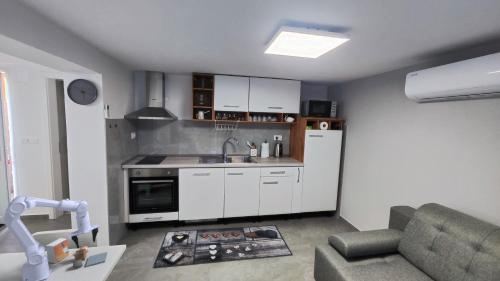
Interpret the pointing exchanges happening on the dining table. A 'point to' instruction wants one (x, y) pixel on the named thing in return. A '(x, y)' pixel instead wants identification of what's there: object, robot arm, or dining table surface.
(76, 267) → the rubber puck
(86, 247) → the terracotta cylinder
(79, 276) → the dining table surface
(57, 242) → the small box
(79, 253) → the walnut block
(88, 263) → the slate board
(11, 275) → the dining table surface
